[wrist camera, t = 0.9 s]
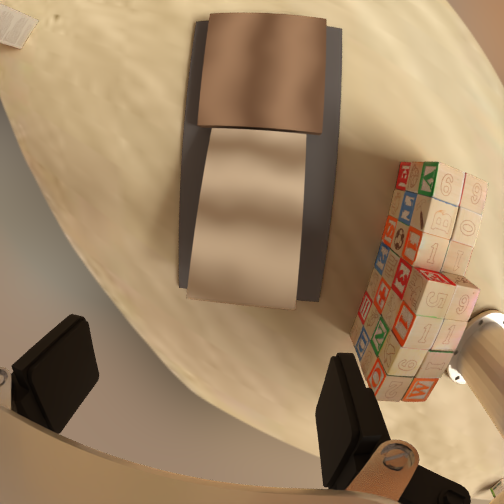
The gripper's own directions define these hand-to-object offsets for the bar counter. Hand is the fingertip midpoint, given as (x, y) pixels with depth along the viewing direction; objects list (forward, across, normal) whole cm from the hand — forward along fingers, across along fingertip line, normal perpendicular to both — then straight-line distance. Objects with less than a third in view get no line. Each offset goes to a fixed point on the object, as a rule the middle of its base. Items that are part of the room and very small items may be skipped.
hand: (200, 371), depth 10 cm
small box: (+24, +40, -31) cm, 56 cm away
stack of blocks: (+23, -17, +1) cm, 29 cm away
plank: (+19, 0, -3) cm, 19 cm away
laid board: (+23, 0, -17) cm, 29 cm away
